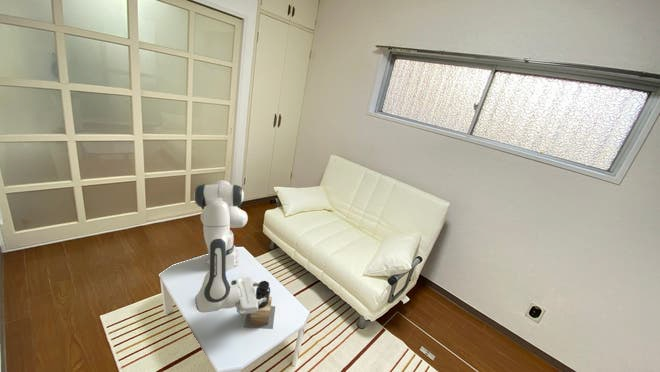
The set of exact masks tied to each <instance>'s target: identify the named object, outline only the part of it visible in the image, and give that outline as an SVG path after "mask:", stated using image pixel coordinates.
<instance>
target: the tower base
mask: <svg viewBox="0 0 660 372" xmlns="http://www.w3.org/2000/svg"><path fill="white" fill-rule="evenodd" d="M268 322H269V318H265V317H251V318H250V323H253V324H268Z"/></svg>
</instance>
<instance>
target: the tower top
mask: <svg viewBox="0 0 660 372" xmlns="http://www.w3.org/2000/svg"><path fill="white" fill-rule="evenodd" d="M272 301H273V296H269V302H268V304H267V306H265V307H258V311H257V312H255V313H251V317H265V318H269V315H270V308H271V306H272Z"/></svg>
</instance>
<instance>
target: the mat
mask: <svg viewBox="0 0 660 372" xmlns="http://www.w3.org/2000/svg"><path fill="white" fill-rule="evenodd" d="M275 313H276V305H271V308H270V315H269V322H268V324H253V323H250V318H251V313H248V314H246V316H245V321H244V324H243V328H249V329H262V330H263V329H266V330H267V329H269V330H273V329H274V321H275Z"/></svg>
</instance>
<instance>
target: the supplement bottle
mask: <svg viewBox="0 0 660 372" xmlns="http://www.w3.org/2000/svg"><path fill="white" fill-rule="evenodd" d="M258 283H259V286H256V287H257V288H256V291H255V295H256V299H259V300H260V299H262V297H264V296H266V301H264V302H262V303H261V304H259V305H258V307H265V306H267V304H268V302H269V297H271V295H270V294H271V288H270V282H268V281H267V280H261V281H260V282H258Z"/></svg>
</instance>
